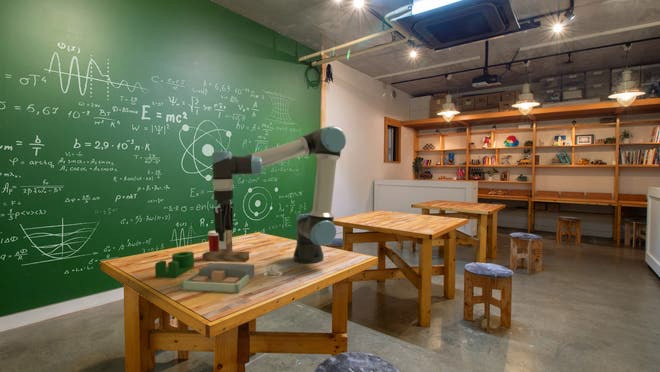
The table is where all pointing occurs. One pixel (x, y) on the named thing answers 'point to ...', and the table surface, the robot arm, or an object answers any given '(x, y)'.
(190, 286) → the tray
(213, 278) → the tile
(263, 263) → the table surface
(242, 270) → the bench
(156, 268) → the green bracket
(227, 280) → the tile
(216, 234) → the paper cup
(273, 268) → the teacup and saucer
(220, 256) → the scraper
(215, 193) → the robot arm
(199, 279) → the tile
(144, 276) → the table surface
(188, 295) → the table surface
